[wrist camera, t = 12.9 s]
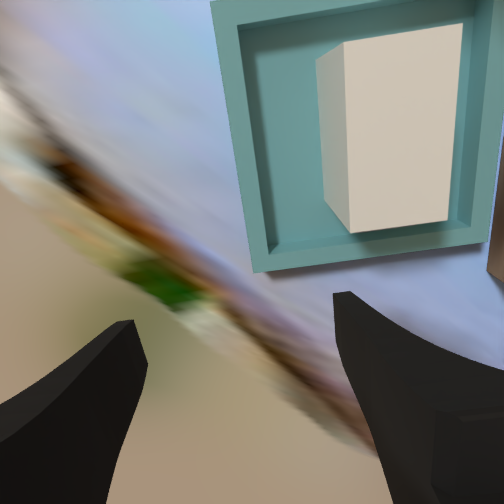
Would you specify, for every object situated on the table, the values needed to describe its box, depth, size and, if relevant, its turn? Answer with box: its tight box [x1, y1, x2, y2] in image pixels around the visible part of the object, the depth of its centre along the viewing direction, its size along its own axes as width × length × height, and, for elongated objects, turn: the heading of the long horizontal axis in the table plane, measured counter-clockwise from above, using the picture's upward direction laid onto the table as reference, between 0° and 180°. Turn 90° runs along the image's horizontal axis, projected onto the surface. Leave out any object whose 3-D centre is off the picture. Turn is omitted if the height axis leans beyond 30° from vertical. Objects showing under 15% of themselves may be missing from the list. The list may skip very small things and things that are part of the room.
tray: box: [210, 0, 504, 273], centre depth 18 cm, size 13×13×2 cm
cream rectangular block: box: [315, 23, 463, 233], centre depth 16 cm, size 8×4×6 cm, turn 8°
